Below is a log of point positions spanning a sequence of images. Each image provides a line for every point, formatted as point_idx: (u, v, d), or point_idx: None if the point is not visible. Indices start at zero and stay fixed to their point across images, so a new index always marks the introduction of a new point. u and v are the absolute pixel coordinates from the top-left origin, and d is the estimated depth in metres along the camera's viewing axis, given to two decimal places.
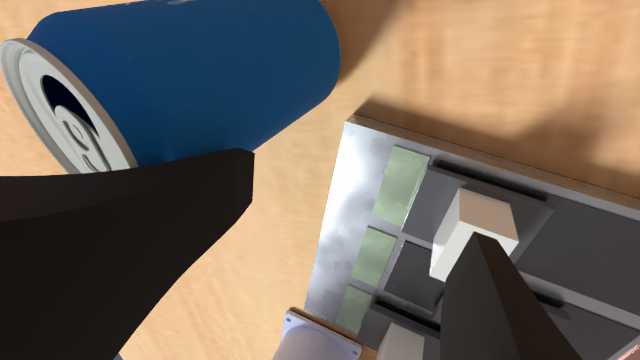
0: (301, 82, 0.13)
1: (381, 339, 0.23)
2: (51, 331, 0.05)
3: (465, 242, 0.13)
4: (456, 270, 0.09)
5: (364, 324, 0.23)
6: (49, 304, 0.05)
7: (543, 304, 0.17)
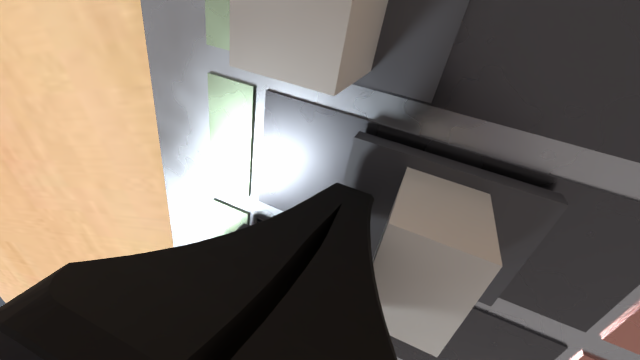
0: None
1: None
2: None
3: None
4: None
5: None
6: None
7: (513, 180, 0.09)
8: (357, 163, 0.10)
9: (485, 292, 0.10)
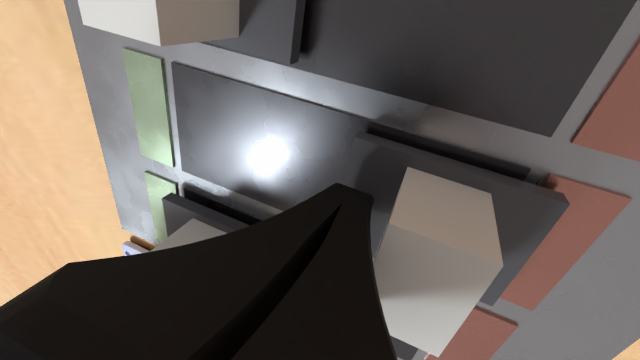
0: None
1: None
2: None
3: None
4: None
5: (168, 229, 0.16)
6: None
7: (514, 179, 0.09)
8: (357, 163, 0.10)
9: (486, 292, 0.10)
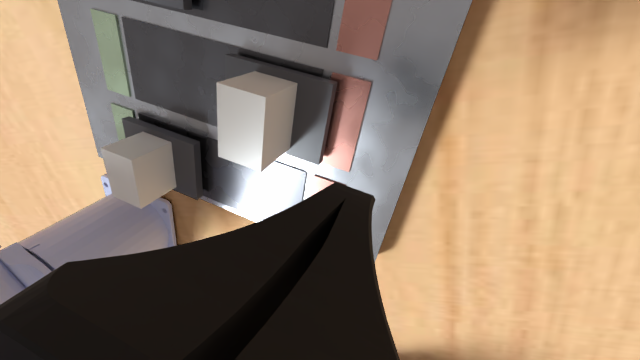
0: None
1: None
2: None
3: None
4: None
5: None
6: None
7: (311, 75, 0.15)
8: (229, 72, 0.16)
9: (313, 154, 0.16)
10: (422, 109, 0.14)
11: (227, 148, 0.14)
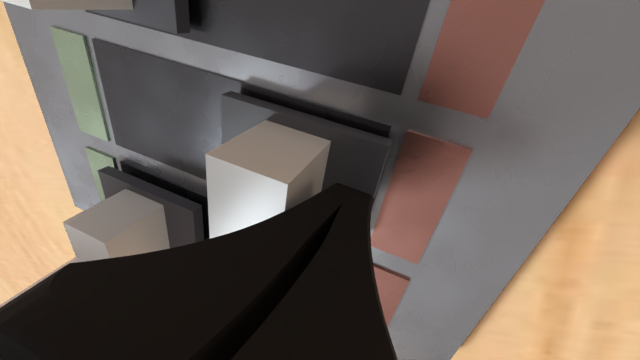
0: None
1: None
2: None
3: None
4: None
5: None
6: None
7: (352, 128, 0.10)
8: (228, 119, 0.11)
9: None
10: (556, 194, 0.09)
11: None
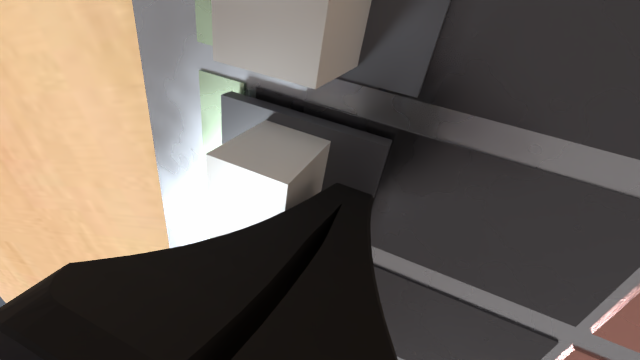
0: None
1: None
2: None
3: None
4: None
5: None
6: None
7: (352, 129, 0.10)
8: (228, 119, 0.11)
9: None
10: None
11: None
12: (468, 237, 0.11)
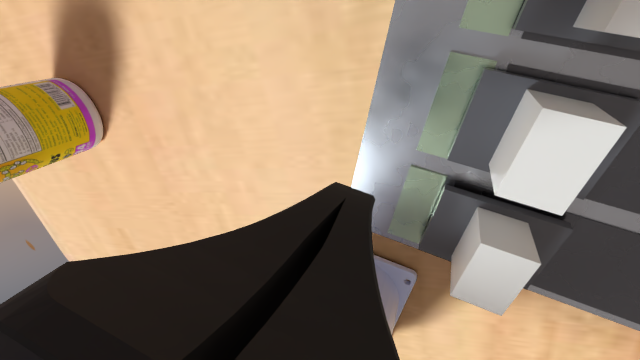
0: None
1: (457, 240, 0.17)
2: None
3: None
4: None
5: (434, 219, 0.17)
6: None
7: (609, 93, 0.12)
8: (484, 90, 0.13)
9: None
10: None
11: (517, 186, 0.12)
12: None
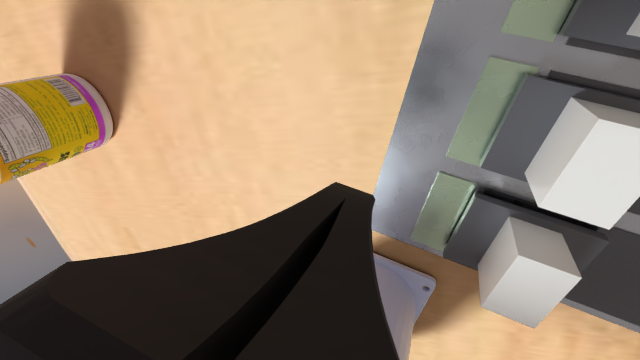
0: None
1: (485, 249, 0.17)
2: None
3: None
4: None
5: (462, 227, 0.16)
6: None
7: None
8: (525, 97, 0.13)
9: None
10: None
11: (563, 198, 0.11)
12: None
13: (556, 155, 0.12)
